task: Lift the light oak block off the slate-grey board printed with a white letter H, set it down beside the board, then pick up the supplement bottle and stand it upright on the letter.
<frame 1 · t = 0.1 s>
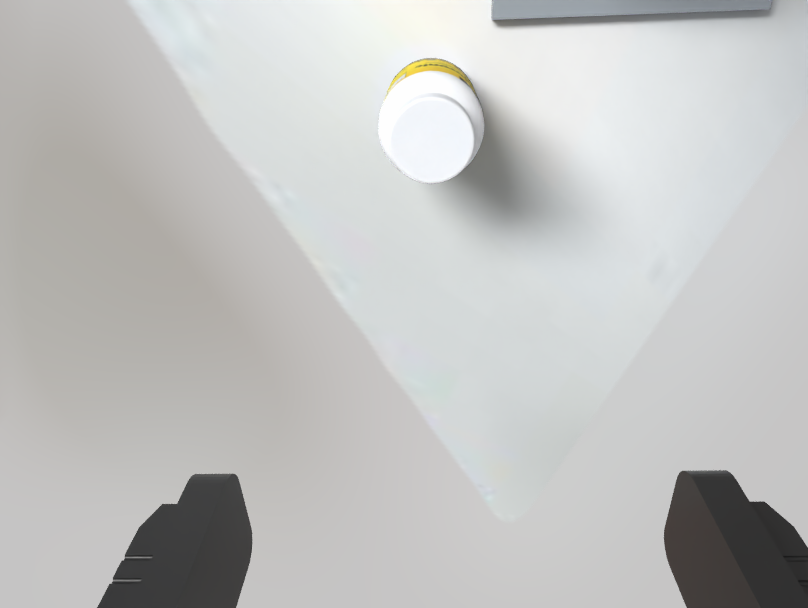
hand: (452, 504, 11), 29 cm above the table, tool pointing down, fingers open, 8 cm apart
supplement bottle: (430, 103, 35), on the table
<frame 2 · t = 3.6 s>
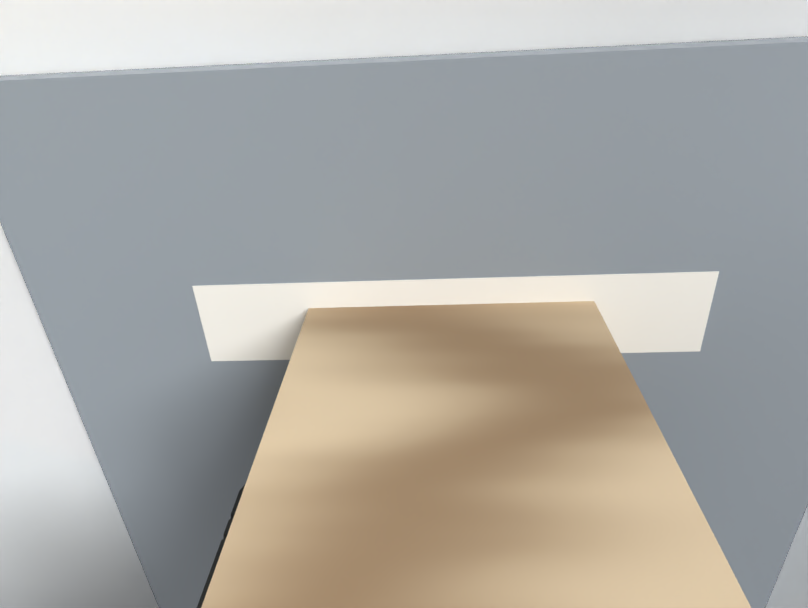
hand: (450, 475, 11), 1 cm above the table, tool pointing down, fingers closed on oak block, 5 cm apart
oak block: (451, 453, 12), point 1 cm above the table, touching gripper, letter board
letter board: (450, 432, 12), on the table
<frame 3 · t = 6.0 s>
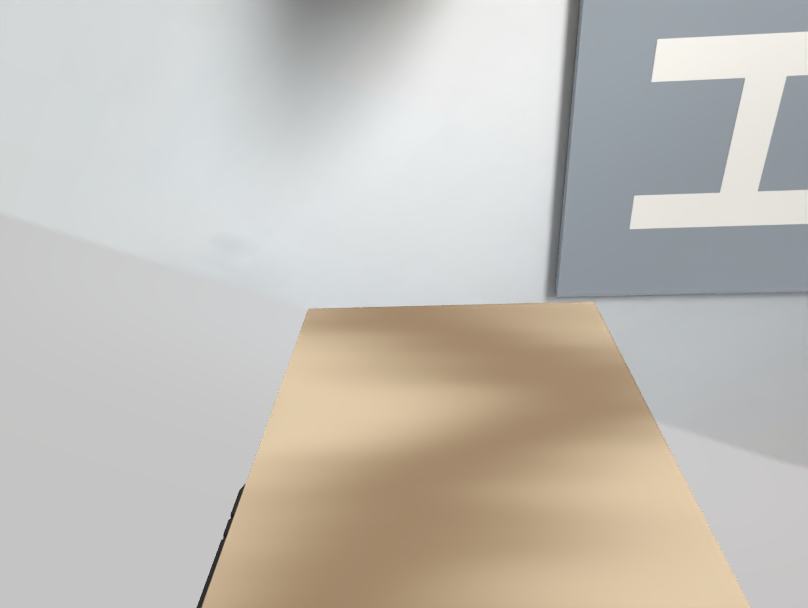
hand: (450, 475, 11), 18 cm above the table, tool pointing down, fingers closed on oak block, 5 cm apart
oak block: (451, 454, 12), point 17 cm above the table, touching gripper
letter board: (744, 133, 25), on the table
when the fingers open (2 cm above the table, at t = 8.9 s): oak block drops 2 cm, on the table.
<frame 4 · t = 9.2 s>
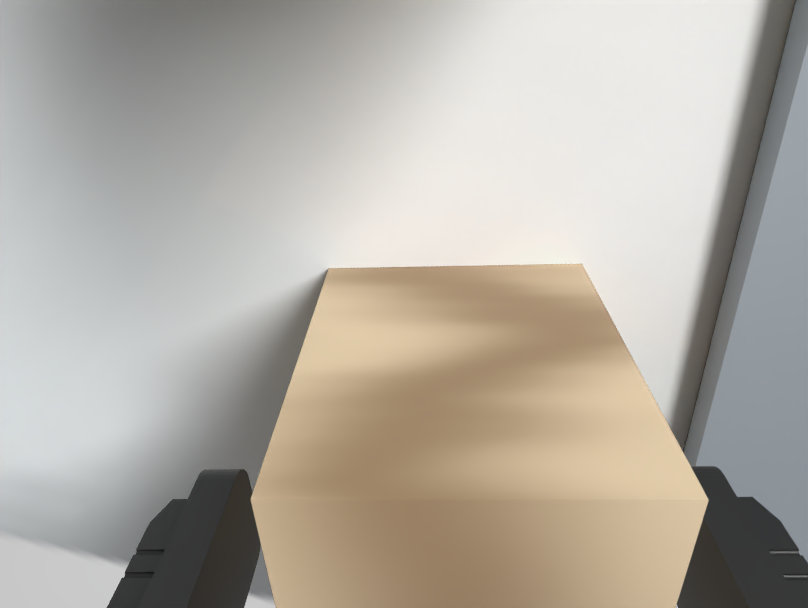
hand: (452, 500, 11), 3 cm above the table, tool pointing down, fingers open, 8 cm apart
oak block: (453, 402, 13), on the table
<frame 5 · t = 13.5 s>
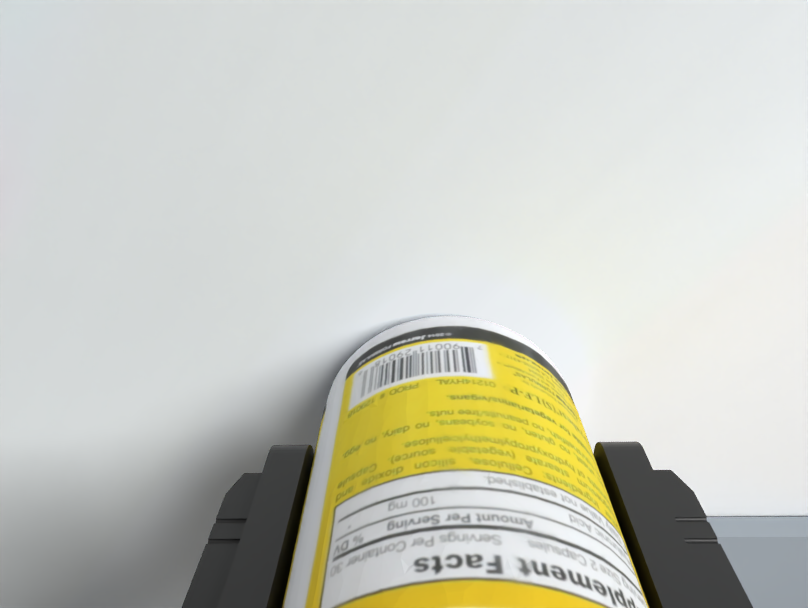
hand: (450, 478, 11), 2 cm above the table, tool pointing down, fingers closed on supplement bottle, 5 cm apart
supplement bottle: (448, 404, 13), on the table, touching gripper
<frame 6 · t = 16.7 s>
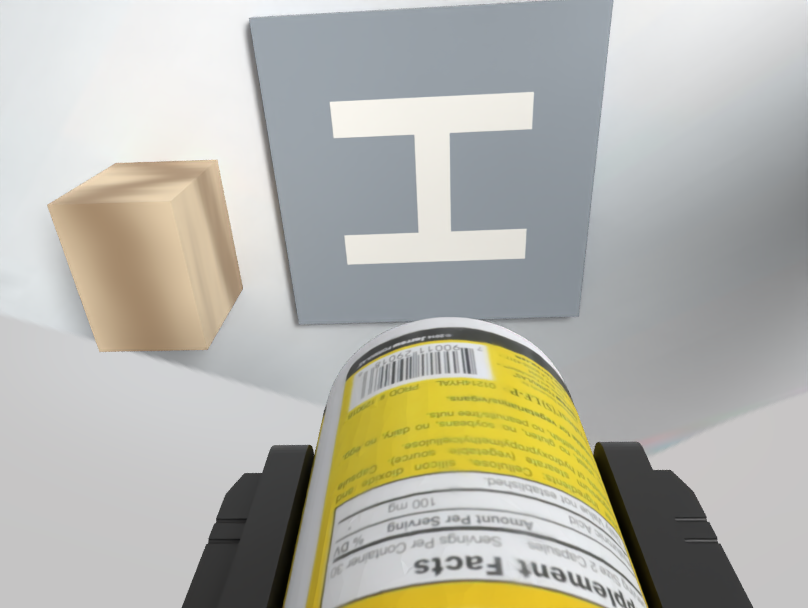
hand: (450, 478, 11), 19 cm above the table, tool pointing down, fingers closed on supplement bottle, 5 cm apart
oak block: (183, 228, 30), on the table
letter board: (433, 181, 28), on the table
supplement bottle: (448, 405, 13), point 17 cm above the table, touching gripper
when the fingers open (4 cm above the table, at t = 20.0 s): supplement bottle drops 1 cm, resting on letter board.
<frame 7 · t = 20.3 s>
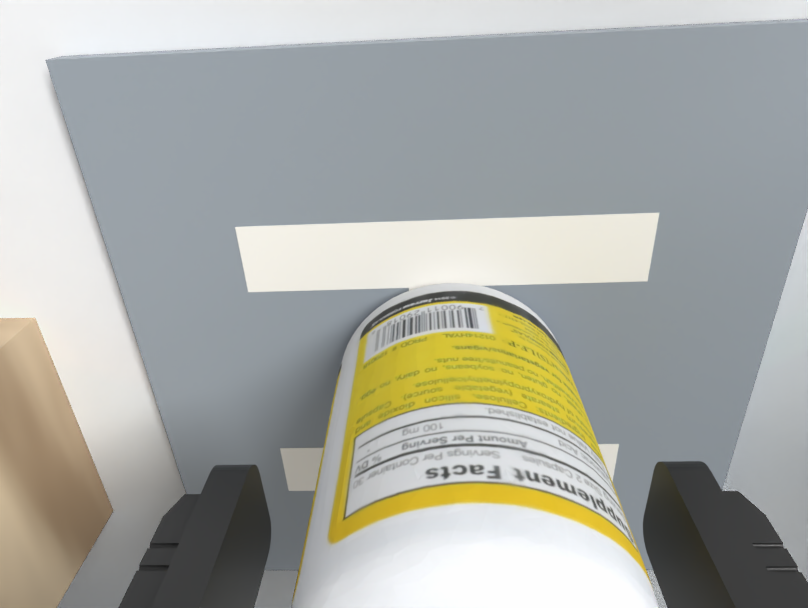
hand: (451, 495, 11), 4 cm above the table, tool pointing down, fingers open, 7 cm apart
letter board: (444, 358, 15), on the table
supplement bottle: (452, 368, 15), resting on letter board
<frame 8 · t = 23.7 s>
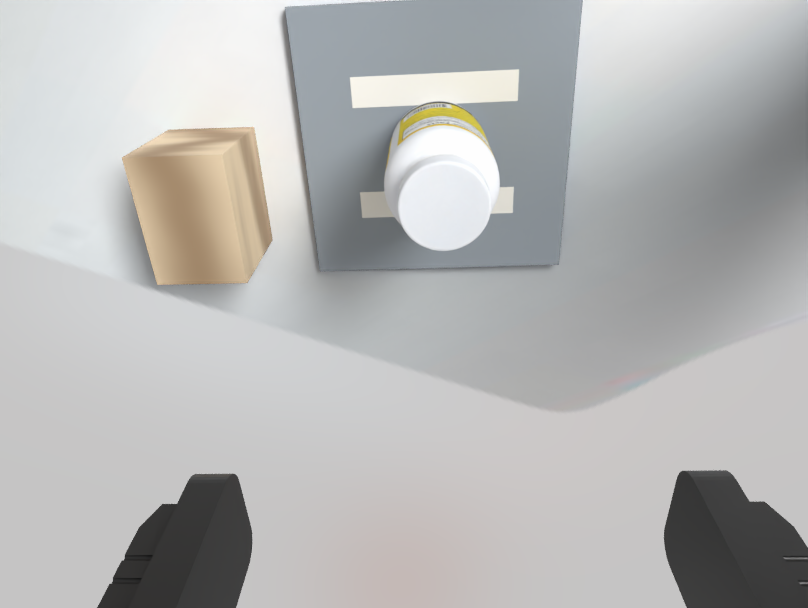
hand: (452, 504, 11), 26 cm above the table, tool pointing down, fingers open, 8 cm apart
oak block: (223, 186, 35), on the table
letter board: (435, 145, 34), on the table
supplement bottle: (438, 147, 33), resting on letter board
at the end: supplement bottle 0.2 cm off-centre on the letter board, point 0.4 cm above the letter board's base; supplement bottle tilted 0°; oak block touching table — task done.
